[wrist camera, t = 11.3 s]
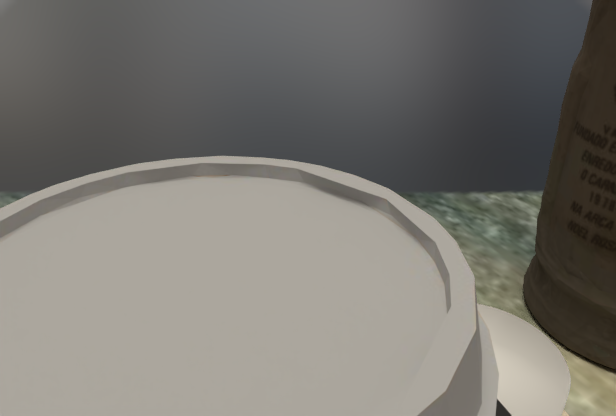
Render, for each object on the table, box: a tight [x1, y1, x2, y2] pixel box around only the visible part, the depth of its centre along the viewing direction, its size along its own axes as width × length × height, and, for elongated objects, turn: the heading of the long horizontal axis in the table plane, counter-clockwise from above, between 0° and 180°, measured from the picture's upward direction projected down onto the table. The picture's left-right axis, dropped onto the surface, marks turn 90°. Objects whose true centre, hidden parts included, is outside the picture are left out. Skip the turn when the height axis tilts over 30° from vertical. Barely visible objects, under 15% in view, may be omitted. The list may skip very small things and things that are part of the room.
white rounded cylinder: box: [477, 304, 571, 416], centre depth 20 cm, size 6×6×5 cm
